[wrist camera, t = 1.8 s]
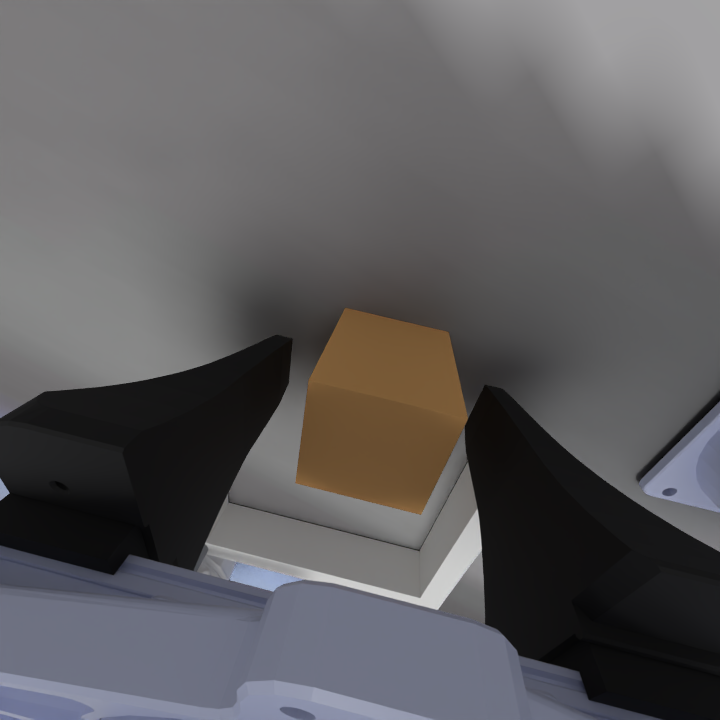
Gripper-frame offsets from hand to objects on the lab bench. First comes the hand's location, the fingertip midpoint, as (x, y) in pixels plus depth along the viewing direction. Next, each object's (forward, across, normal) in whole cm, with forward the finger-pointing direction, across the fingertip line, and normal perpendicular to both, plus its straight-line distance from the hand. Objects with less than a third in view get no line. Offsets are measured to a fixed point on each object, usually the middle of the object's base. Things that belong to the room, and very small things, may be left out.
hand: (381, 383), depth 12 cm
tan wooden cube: (+2, 0, 0) cm, 2 cm away
